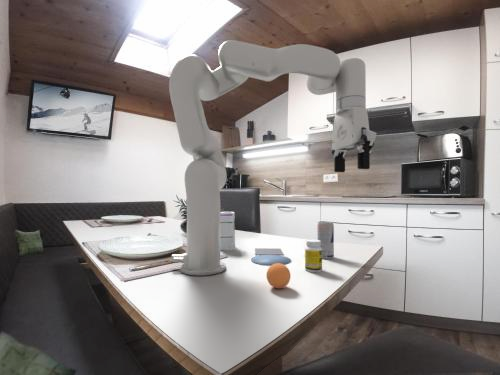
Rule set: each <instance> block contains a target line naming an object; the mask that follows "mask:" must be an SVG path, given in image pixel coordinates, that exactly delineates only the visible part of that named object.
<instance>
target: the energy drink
mask: <svg viewBox="0 0 500 375" xmlns="http://www.w3.org/2000/svg"><path fill="white" fill-rule="evenodd" d="M334 226H335V225H334V222H333V221H322V220H321V221H317V240H320V241H321V246H320V247H321V248H322V260H331V259H334V257H335V255H334V254H335V248H334V247H335V242H334V241H335V237H334V236H335V233H334V232H335V230H334V228H335V227H334Z"/></svg>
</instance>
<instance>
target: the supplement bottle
mask: <svg viewBox="0 0 500 375" xmlns="http://www.w3.org/2000/svg"><path fill="white" fill-rule="evenodd" d="M305 245H306V246H305V249H304V270H305V271H306V272H308V273H321V272H322V271H323V259H322V248H321V247H320V246H321V241H320V240H318V239H307V240H306V243H305Z"/></svg>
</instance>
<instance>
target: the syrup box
mask: <svg viewBox="0 0 500 375" xmlns="http://www.w3.org/2000/svg"><path fill="white" fill-rule="evenodd" d="M235 213H236V212H234V211H220V251H234V250H235V248H236V226H235V225H236V223H235V222H236V221H235V220H236V219H235V218H236V217H235V216H236V215H235Z"/></svg>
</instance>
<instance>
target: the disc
mask: <svg viewBox="0 0 500 375" xmlns="http://www.w3.org/2000/svg"><path fill="white" fill-rule="evenodd" d="M250 261H251V262H252V263H254V264H255V265H261V266H271V265H273V264H276V263H280V264H283V265H287V264H290V263H291V262H292V259H291V258H290V257H287V256H284V255H254V256H252V257H251V258H250Z"/></svg>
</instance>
